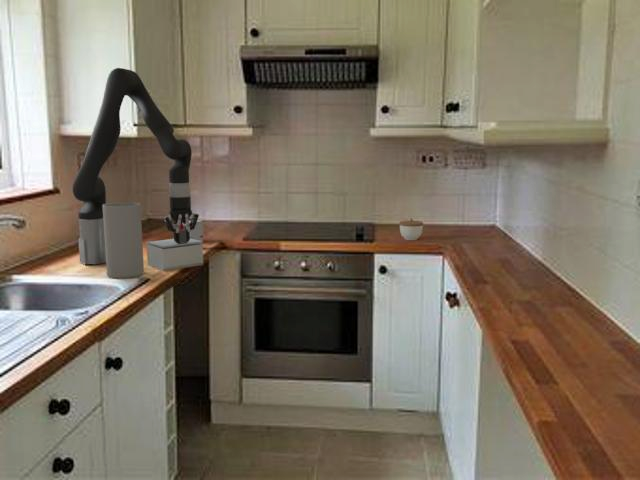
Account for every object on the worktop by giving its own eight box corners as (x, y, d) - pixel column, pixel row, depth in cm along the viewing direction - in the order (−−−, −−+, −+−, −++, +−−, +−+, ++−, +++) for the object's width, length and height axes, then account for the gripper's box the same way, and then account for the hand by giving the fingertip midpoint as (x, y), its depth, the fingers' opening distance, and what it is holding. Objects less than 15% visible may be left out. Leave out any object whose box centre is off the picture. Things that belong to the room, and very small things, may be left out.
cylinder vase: (147, 270, 233) (144, 202, 229) (139, 278, 221) (135, 206, 216) (113, 271, 233) (108, 202, 228) (102, 279, 221) (97, 206, 216)
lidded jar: (401, 236, 303) (401, 216, 301) (424, 237, 300) (424, 217, 298) (397, 240, 292) (397, 219, 291) (421, 241, 290) (421, 220, 288)
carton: (163, 271, 233) (162, 249, 231) (147, 264, 243) (146, 243, 242) (203, 265, 242) (202, 244, 241) (186, 259, 253) (185, 239, 252)
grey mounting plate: (163, 248, 231) (162, 232, 230) (146, 243, 242) (145, 228, 241) (203, 242, 241) (202, 227, 240) (185, 238, 252) (184, 224, 251)
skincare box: (190, 250, 271) (189, 222, 269) (186, 249, 274) (185, 220, 272) (204, 249, 274) (202, 220, 272) (199, 247, 278) (198, 219, 276)
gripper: (166, 197, 226) (168, 245, 229) (202, 194, 235) (204, 241, 238) (157, 195, 232) (159, 243, 235) (192, 193, 241) (194, 238, 243)
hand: (182, 242), depth 236 cm, fingers closed on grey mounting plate, 3 cm apart
